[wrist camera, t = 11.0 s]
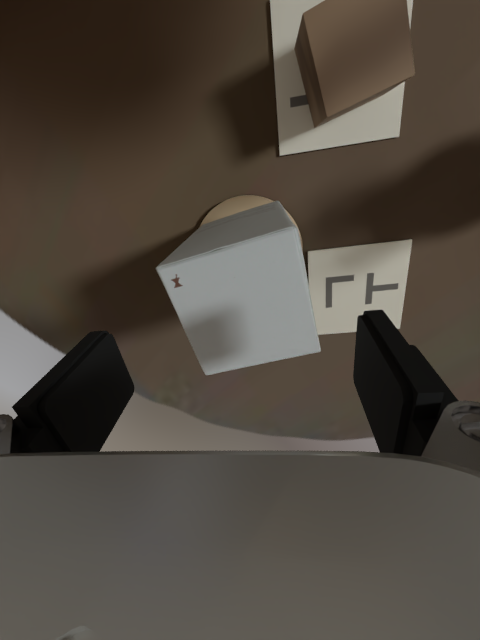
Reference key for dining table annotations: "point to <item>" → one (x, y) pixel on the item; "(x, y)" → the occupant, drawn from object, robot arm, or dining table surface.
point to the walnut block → (352, 54)
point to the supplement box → (243, 290)
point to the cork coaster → (239, 208)
